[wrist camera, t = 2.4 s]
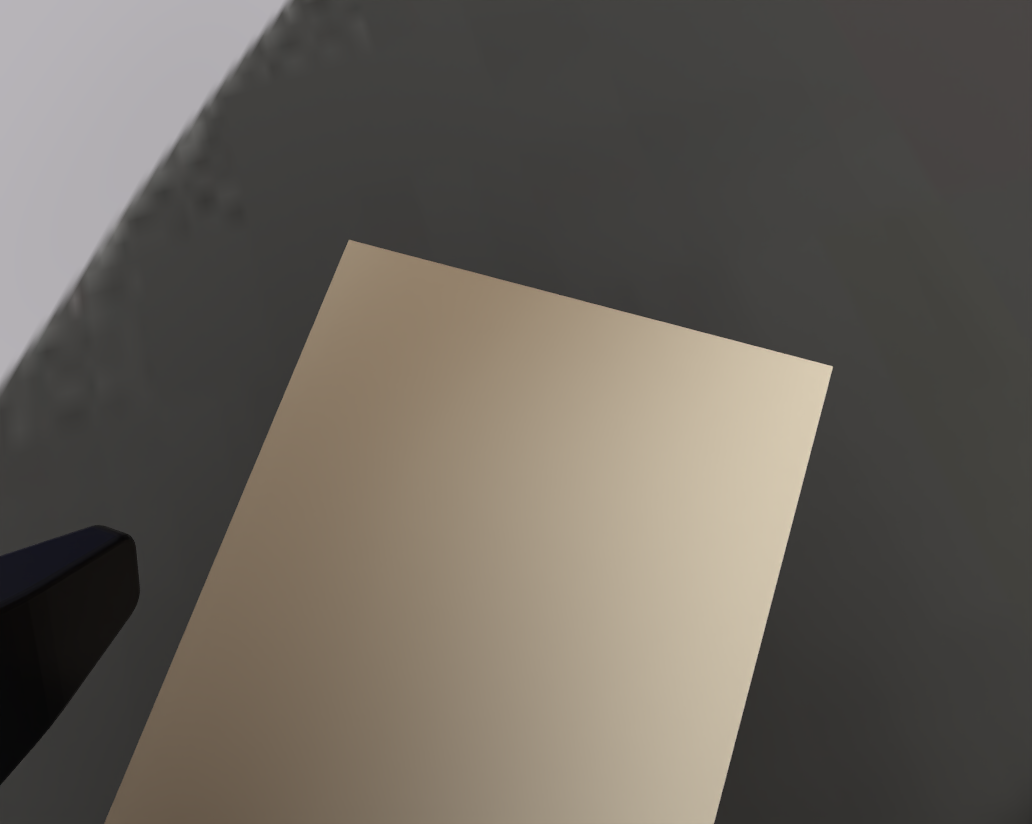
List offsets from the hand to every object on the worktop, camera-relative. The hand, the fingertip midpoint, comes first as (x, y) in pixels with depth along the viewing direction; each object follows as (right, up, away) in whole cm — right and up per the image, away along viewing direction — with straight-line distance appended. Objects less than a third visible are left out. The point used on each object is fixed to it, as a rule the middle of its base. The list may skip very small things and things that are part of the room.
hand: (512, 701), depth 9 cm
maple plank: (+1, -2, +8) cm, 8 cm away
